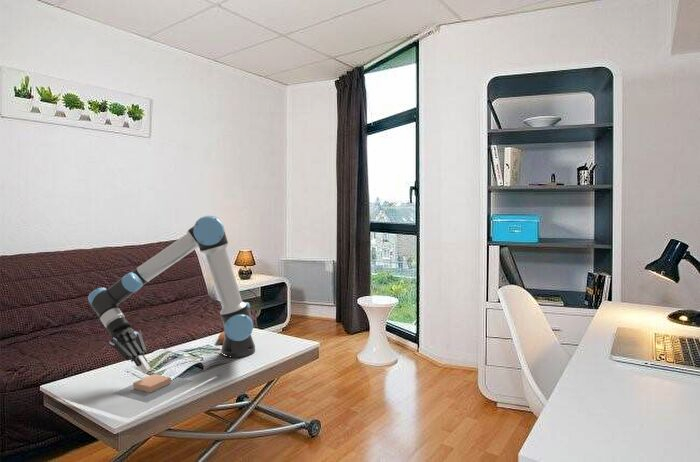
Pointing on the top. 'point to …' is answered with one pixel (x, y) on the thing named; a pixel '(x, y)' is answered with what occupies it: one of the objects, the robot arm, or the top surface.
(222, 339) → the ceramic shard
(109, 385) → the top surface
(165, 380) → the tile
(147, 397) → the board
